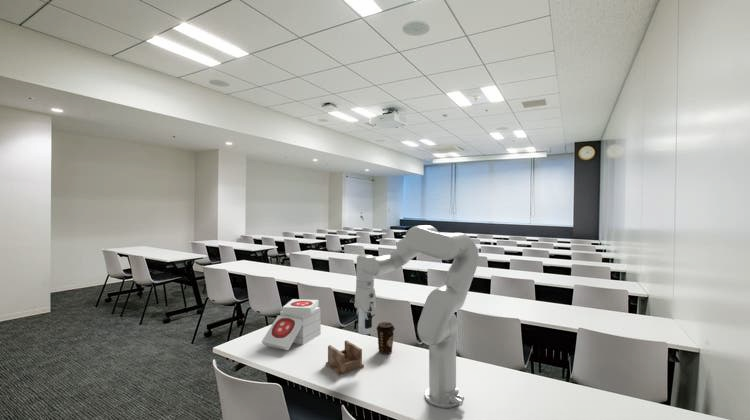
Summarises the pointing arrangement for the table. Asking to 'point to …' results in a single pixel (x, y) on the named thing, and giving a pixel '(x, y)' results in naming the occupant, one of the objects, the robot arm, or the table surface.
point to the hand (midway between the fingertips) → (364, 325)
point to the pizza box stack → (295, 324)
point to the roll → (362, 323)
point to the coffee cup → (385, 337)
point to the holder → (345, 359)
